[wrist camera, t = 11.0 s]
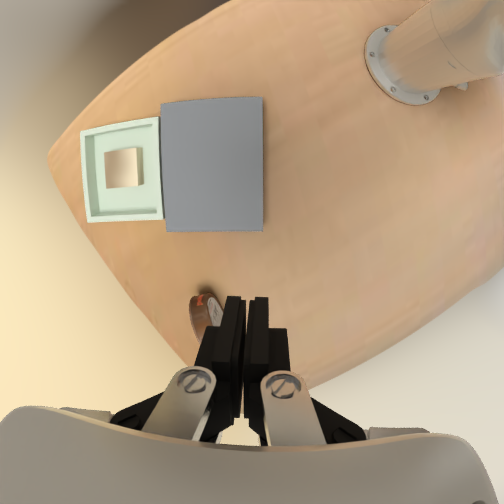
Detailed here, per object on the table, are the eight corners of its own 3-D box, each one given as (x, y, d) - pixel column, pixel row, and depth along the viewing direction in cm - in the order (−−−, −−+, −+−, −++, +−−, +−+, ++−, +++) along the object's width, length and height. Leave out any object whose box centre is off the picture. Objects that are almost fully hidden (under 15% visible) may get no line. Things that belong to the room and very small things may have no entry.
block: (103, 152, 32) (111, 151, 34) (106, 188, 34) (113, 186, 36) (136, 147, 32) (142, 147, 34) (138, 186, 33) (144, 184, 35)
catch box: (166, 118, 33) (158, 116, 30) (170, 214, 37) (163, 219, 34) (91, 131, 33) (80, 131, 30) (98, 217, 38) (87, 222, 35)
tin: (194, 286, 41) (180, 317, 33) (214, 280, 40) (203, 311, 33) (232, 360, 46) (227, 397, 38) (249, 357, 45) (247, 393, 37)
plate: (262, 101, 32) (262, 96, 28) (263, 224, 37) (263, 231, 34) (169, 107, 32) (160, 103, 29) (174, 224, 38) (166, 231, 34)
